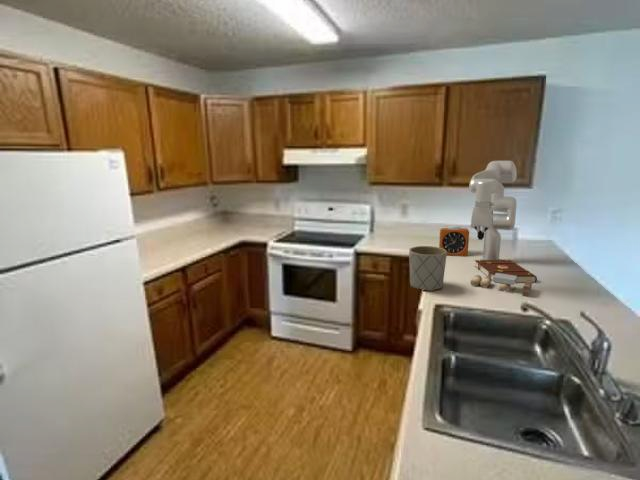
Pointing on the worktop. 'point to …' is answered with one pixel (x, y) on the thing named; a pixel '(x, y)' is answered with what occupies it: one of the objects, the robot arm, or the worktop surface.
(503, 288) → the roller
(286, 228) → the worktop surface
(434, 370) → the worktop surface
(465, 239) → the alarm clock
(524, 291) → the stop block
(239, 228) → the worktop surface
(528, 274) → the book
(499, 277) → the slab
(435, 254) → the planter
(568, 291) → the worktop surface
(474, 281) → the bed rollers
